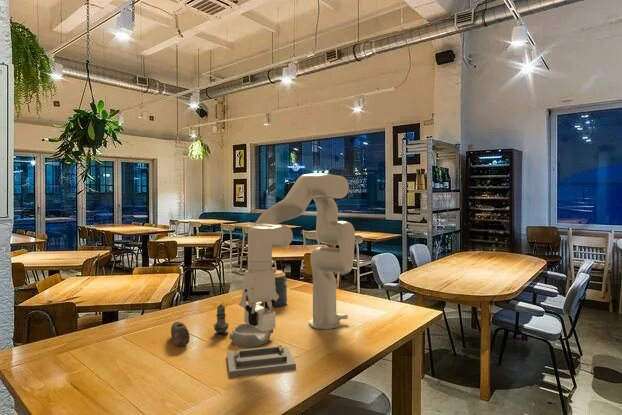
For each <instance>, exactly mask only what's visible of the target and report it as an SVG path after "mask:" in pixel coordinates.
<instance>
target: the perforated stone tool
mask: <svg viewBox="0 0 622 415" xmlns="http://www.w3.org/2000/svg"><path fill="white" fill-rule="evenodd" d="M170 335H171V338H172V340H173V343H174V344H175V345H176V346H179V347H181V346H186V345H188V344H189V342H190V332H189V329H188V327H187V326H186V325H185V324H184V323H183V322H181V321H175V322H173V324H172V326H171V328H170Z"/></svg>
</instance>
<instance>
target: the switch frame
mask: <svg viewBox="0 0 622 415" xmlns="http://www.w3.org/2000/svg"><path fill="white" fill-rule="evenodd" d="M226 360H227V366H228V373H229V377H239V376H245V375H255V374H261V373H262V374H263V373H271V372H279V371H286V370H294V369H295V370H296V369H297V363H296V361H295V358H294V357H293V355H292V353H291V351H290V349H289V348H288V346H287V345H283V346H282V345H272V346H263V347H250V348H243V349H235V350H234V351H229V352H226Z"/></svg>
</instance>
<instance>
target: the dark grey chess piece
mask: <svg viewBox="0 0 622 415" xmlns="http://www.w3.org/2000/svg"><path fill="white" fill-rule="evenodd" d="M215 316H216V323H214V324H212V325H213V326H212V327H213V329H214V331H215V333H214V334H213V336H214V337H217V338H221V337H222V338H224V337H227V336H229V332H228V329H229V326H230V324H229V322H226V316H227V314H226V306H224V305H223V304H222V303H219V305H218V306H217V307H216V315H215Z"/></svg>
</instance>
